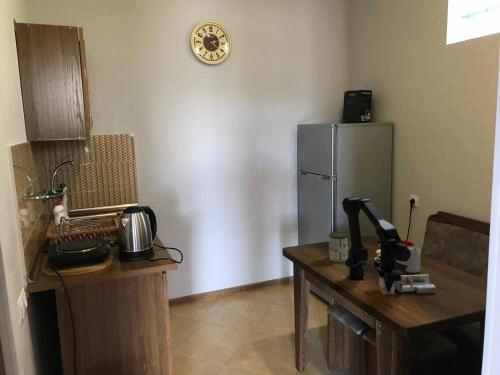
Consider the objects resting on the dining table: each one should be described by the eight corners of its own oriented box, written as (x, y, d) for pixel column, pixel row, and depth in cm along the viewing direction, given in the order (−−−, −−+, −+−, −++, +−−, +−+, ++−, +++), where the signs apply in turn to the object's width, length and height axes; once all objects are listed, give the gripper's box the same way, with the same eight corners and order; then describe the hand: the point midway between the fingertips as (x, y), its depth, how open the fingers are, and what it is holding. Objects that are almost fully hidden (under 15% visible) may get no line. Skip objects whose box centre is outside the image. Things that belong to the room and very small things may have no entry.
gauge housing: (407, 294, 177) (407, 283, 176) (399, 285, 186) (399, 275, 185) (437, 292, 177) (437, 282, 176) (427, 284, 186) (428, 274, 185)
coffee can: (332, 254, 232) (332, 231, 230) (350, 257, 227) (350, 233, 225) (326, 260, 224) (325, 235, 222) (344, 263, 218) (344, 237, 216)
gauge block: (382, 294, 178) (383, 281, 177) (379, 289, 183) (379, 277, 182) (394, 294, 178) (394, 280, 177) (390, 289, 183) (390, 276, 182)
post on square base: (399, 293, 178) (399, 283, 177) (395, 288, 183) (395, 278, 182) (436, 291, 178) (436, 281, 177) (431, 287, 183) (431, 277, 182)
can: (421, 273, 200) (422, 250, 198) (405, 273, 201) (405, 249, 199) (418, 268, 207) (419, 245, 205) (402, 268, 208) (403, 245, 206)
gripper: (414, 261, 168) (413, 297, 171) (397, 248, 187) (397, 280, 189) (387, 262, 168) (386, 298, 171) (373, 248, 187) (373, 281, 189)
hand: (386, 289), depth 180 cm, fingers closed on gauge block, 5 cm apart
